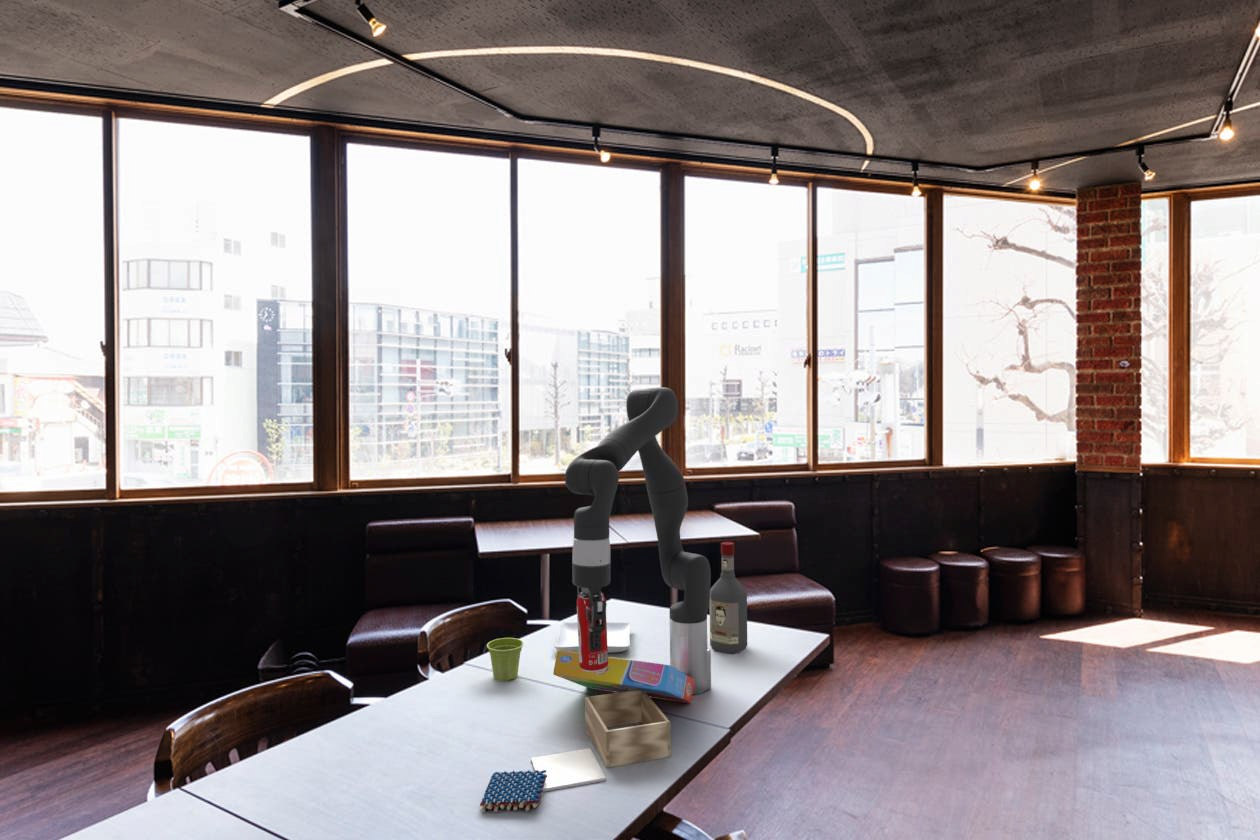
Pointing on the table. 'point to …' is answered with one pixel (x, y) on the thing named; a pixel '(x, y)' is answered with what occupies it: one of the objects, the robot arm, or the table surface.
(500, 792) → the woven mat
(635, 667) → the game box
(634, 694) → the crate
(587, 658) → the beverage can
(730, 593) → the liquor
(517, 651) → the plant pot
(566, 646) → the salad plate
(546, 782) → the coaster
